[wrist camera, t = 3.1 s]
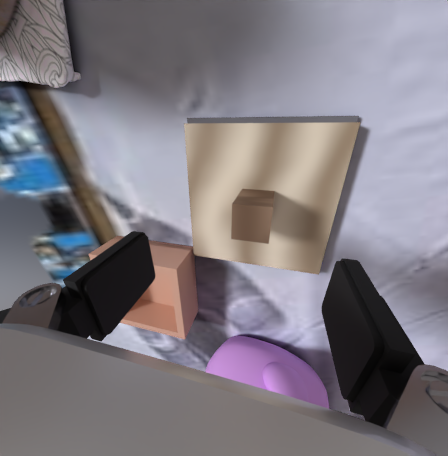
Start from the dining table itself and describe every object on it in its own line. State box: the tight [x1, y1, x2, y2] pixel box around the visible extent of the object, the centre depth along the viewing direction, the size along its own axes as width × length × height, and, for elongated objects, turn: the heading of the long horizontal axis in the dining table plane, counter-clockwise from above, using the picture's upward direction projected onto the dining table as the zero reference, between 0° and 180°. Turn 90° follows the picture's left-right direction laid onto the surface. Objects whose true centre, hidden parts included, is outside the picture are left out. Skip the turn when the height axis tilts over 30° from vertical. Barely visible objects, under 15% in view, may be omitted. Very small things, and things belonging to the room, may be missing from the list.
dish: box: [89, 236, 198, 339], centre depth 28 cm, size 12×12×5 cm
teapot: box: [205, 336, 329, 409], centre depth 25 cm, size 23×21×15 cm
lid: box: [184, 122, 360, 274], centre depth 18 cm, size 15×15×6 cm
